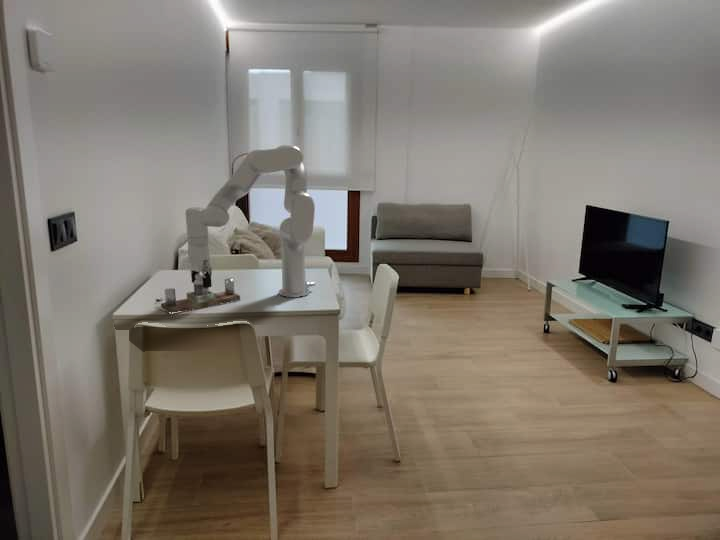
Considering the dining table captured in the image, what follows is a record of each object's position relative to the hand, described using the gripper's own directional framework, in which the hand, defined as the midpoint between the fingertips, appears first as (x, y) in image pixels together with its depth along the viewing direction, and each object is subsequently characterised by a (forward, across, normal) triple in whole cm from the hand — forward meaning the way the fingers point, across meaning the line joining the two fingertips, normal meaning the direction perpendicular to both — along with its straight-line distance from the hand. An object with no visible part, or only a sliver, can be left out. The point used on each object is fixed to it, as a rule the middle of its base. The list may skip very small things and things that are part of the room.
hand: (201, 284), depth 204 cm
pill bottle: (+6, 0, 0) cm, 6 cm away
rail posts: (+6, 0, 0) cm, 6 cm away
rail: (+8, 0, 0) cm, 8 cm away
